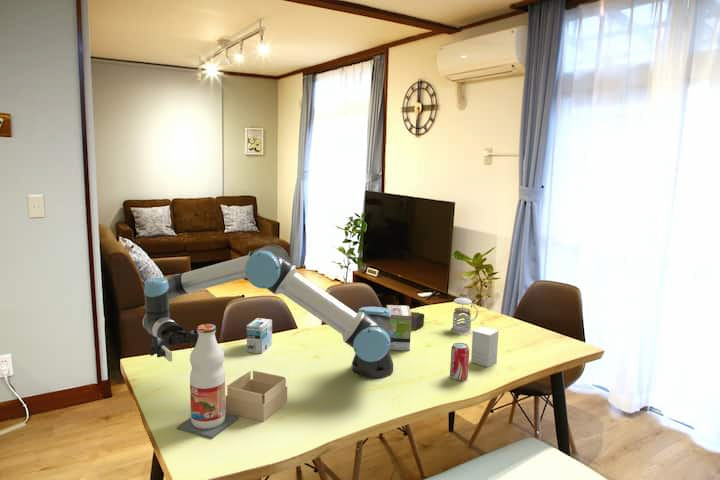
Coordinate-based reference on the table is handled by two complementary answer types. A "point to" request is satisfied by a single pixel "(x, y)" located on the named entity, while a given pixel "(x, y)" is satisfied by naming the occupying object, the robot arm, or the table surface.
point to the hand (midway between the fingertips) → (194, 351)
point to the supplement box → (484, 346)
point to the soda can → (459, 361)
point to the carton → (256, 395)
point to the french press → (462, 316)
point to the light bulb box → (259, 335)
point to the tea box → (400, 327)
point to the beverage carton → (417, 320)
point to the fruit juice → (207, 380)
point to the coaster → (210, 432)
